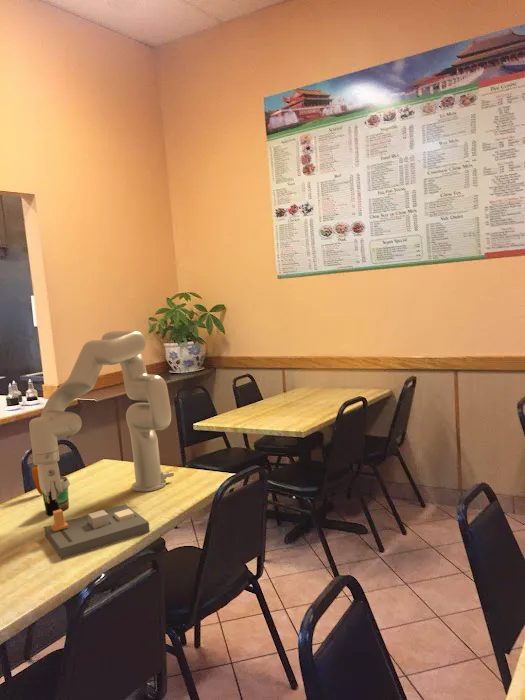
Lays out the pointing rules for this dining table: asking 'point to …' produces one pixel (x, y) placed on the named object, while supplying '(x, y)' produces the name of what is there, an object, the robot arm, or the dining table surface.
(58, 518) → the orange slider handle
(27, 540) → the dining table surface
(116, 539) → the switch panel
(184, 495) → the dining table surface
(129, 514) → the cream button
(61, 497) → the food container
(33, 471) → the carrot
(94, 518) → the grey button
